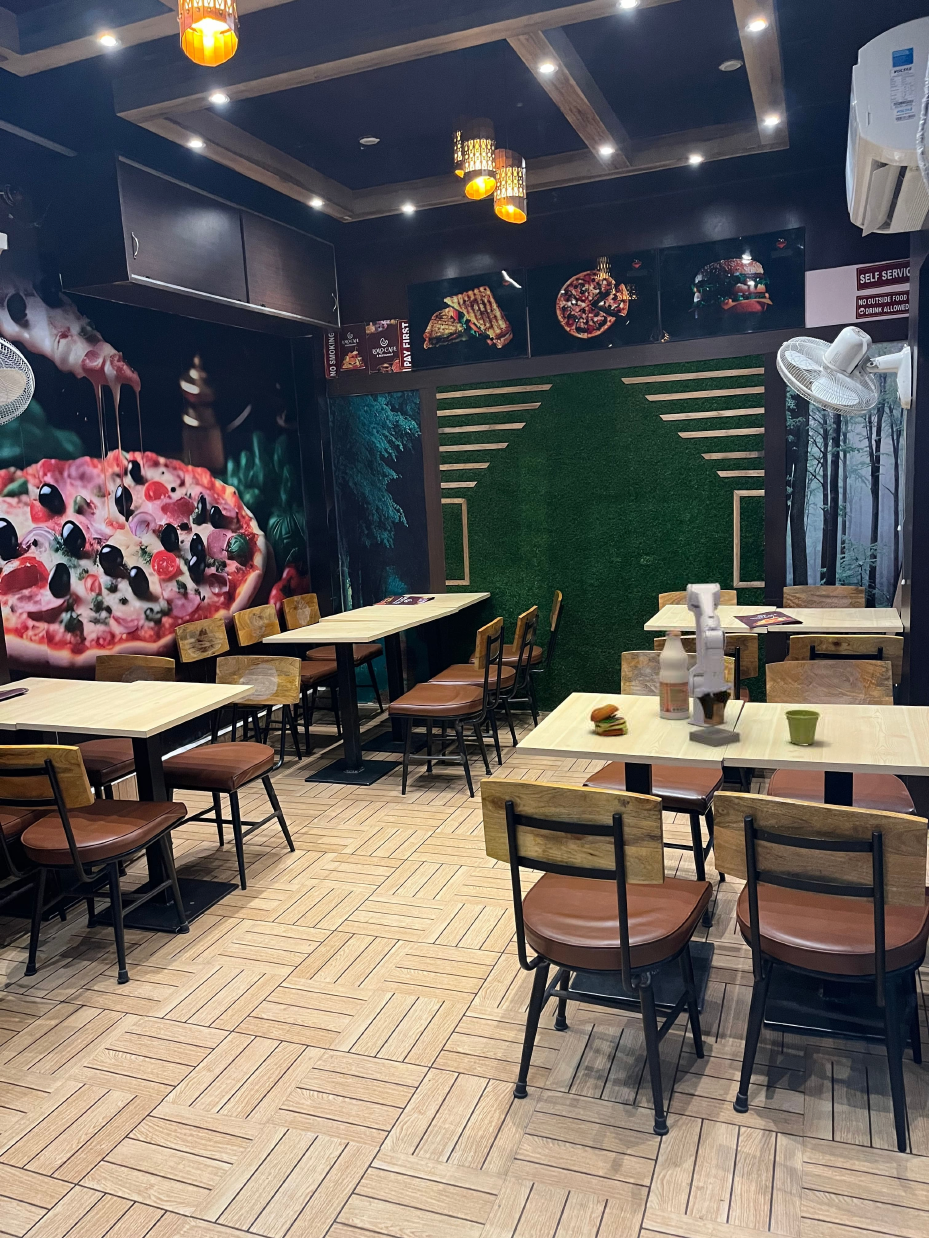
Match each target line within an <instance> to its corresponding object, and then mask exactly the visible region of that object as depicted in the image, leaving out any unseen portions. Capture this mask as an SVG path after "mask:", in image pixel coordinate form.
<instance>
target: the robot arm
mask: <svg viewBox="0 0 929 1238" xmlns="http://www.w3.org/2000/svg"><path fill="white" fill-rule="evenodd" d="M720 601H721V586H720V584H719V583H718V582H715V583H695V584H694V583H693V584H691V583H688V585H687V586H686V606H687V607H686V608H687V610H688V611H689V612H692V613H693V616H694V618H695V619H694V621H695V644H696V646H695V647H696V648H695V649H696V664H695V665H694V666H693V667H691V668H690V669H689V671H688V690H689V695H691V696H692V703H693V705H692V706H693V708H692V710H693V711H692V713H693V715H692V718H693V719H692V720H689V721H687V724H689V725H696V726H699V727H704V728H710V727H714V726H713V725H708V724H704V715H705V719H710V720H711V719H712V718H713V707H714V703H715V702H720V703H724V712H725V711H726V708H727V707H726V706H727V704H728V702H729V700H730V698H731V697H732V692H731V691H734V683H732V682H725V652H724V651H725V650H726V646H727V636H726V632H725V629H724V628H723V627H722V625H721V619H720V616H719V615H718V614H717V613H716V610H718V607H719V606H720ZM703 711H704V714H703ZM726 723H727V721H726V720H724V724H726Z"/></svg>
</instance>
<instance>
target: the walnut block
mask: <svg viewBox="0 0 929 1238" xmlns="http://www.w3.org/2000/svg"><path fill="white" fill-rule="evenodd" d="M703 714H704V711H703ZM724 721H725V711H724V703H720V702H715V703H714V707H713V718H712V719H711V720H710V719H705V715H704V724H708V725H713V726H712V727H716V726H719V725H724V724H725V723H724Z"/></svg>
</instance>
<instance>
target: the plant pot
mask: <svg viewBox="0 0 929 1238" xmlns="http://www.w3.org/2000/svg"><path fill="white" fill-rule="evenodd" d="M784 715H785V716H786V720H787V723H788V725H787V726H788V731H789V738H790V739H789V740H790V743H791V742H792V743H791V744H793V743H795V745H797V744H810V745H812V744H811V743H813V742H815V737H816V730H817V724H818V720H819V718H820V717H821V713H820V712H818V711H816V710H809V709H790V710H786V711H785V712H784ZM813 744H814V743H813Z"/></svg>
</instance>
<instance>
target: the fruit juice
mask: <svg viewBox="0 0 929 1238" xmlns="http://www.w3.org/2000/svg"><path fill="white" fill-rule="evenodd" d="M681 637H682V632H681V631H678V630H670V631H669V630H668V631H666V632H665V638H666V640H665V644H664V647H663V649H662V651H661V653H660V655H659V659H658V660H659V665H660V671H659V675H658V676H659V678H658V681H659V682H658V683H659V685H658V686H659V691H658V692H659V693H658V694H659V716H660V718H662V719H665V720H673V721H675V720H676V721H678V720H685V719H688V718H690V717H689V716H690V693H689V690H688V673H689V671H688V668H687V666H688V664H689V656H688V653H687V652H686V650H685V649H684V646H683V644H682V641H681Z"/></svg>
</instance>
